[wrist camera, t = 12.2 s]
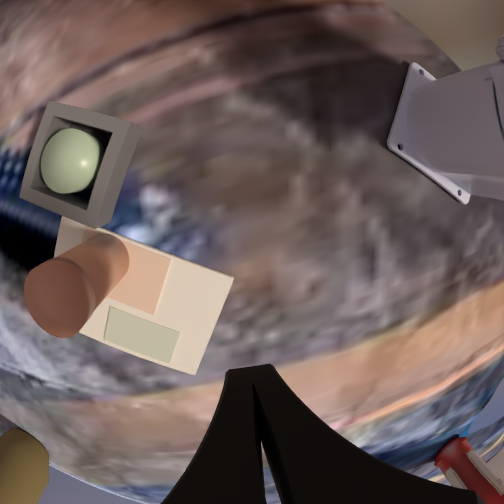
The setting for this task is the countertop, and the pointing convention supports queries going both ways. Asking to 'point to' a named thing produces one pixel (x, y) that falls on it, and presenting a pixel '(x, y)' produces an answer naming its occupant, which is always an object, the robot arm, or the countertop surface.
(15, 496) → the squeeze bottle
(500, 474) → the milk
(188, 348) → the sheet
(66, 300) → the brown round-topped peg
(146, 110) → the countertop surface
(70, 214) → the button housing
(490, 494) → the liquor
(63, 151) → the button
